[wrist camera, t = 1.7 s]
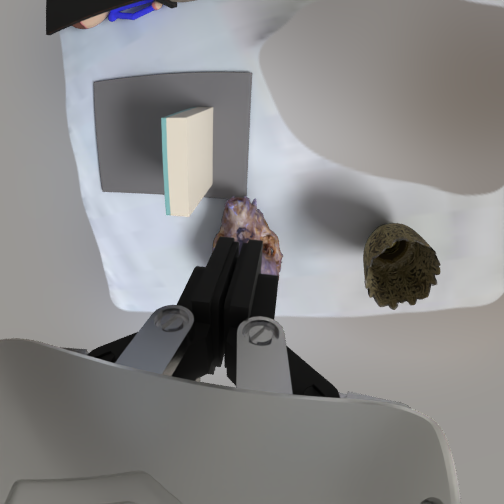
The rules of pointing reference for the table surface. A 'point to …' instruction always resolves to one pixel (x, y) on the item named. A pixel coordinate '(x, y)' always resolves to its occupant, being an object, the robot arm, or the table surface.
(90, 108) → the table surface
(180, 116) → the tile
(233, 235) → the skull
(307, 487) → the robot arm
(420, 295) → the cup
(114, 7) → the figurine character
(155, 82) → the mat
